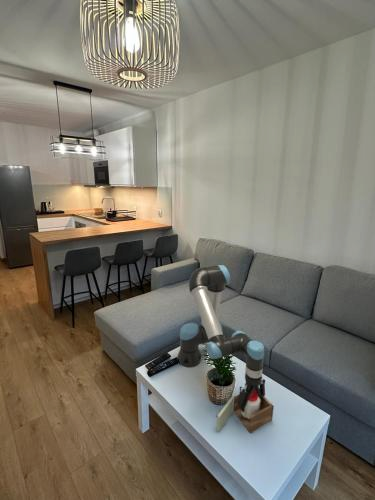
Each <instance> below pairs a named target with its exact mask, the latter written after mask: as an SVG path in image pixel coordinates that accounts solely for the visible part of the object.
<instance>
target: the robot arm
mask: <svg viewBox="0 0 375 500" xmlns="http://www.w3.org/2000/svg"><path fill="white" fill-rule="evenodd" d="M230 283H231V275H230V272H229V270H228V268H227V267H226V266H225V265H224V264H222V265H221V264H220V265H219V264H217V265H213V266H205V267H198V268H197V269H195V270H193V271H192V273H191V275H190V277H189V280H188V289H189V293H190V295H191V296H192V297H193V298H194V303H195V305H196V307H197V310H198V313H199V316H200V319H201V322H200V324H197V323H195V322H189V323H186V324H183V325H182V326H181V328H180V330H179V331H180V332H179V338H180V339H179V344H180V345H179V348H180V349H179V351H178V354H177V360H178V359H179V362H180V363H179V362H178V363H179V365H180V366H183V367H186V368H193V367H197V366H198V365H200V363H201V362H202V354H201V351H200V348H199V346H200V345H203V344H205V345H206V353H207V355H208V357H209V358H210V359H211V360H214V359H219V358H220V359H221V358H223V357H227V356H232V355H234V354H239V353H241V354H242V355H243V356H244V357H245V369H244V370H245V373H244V374H245V375H244V379H245V381H244V382H245V384H244V386H240V387H239V394H238V395H239V398H238V403H237V404H238V405H239V406H240V407H241V414H242V415H243V416H244V417H245V418H246V412H247V406H246V404H247V401H248V399H249V397H250V395H251V394H252V392H253V391H254V390H255V391H256V392H257V394H258V396H259V398H260V403H261V400H263V397H262V396H264V397H266V388H265V387H266V386H265V384H266V380H265V378H264V377H263V368H264V358H265V346H264V344H263V343H262V342H260V341H257V340H252V339H251V338H250V337H249V335H247V334H246V333H245V332H244V331H242V330H236V331H235V332H234V333H232V334H231V337H226V338H225V336H224V334H223V327H222V324H221V323H220V321H219V314H220V308H221V300H222V299H221V298H222V293H223V292H224V291H225V289H226V286H227V285H229V284H230ZM259 410H260V406H259Z"/></svg>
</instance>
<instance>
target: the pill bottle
mask: <svg viewBox="0 0 375 500" xmlns="http://www.w3.org/2000/svg"><path fill="white" fill-rule="evenodd" d="M246 406H247V412H246V417H247V418H248V419H250V416H251V415H253V414H255V413H257V412H259V406H260V398H259V396H258V394H257V392H256V391H253V392H252V394H251V395H250V397H249V399H248V401H247V404H246Z"/></svg>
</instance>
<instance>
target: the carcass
mask: <svg viewBox="0 0 375 500" xmlns="http://www.w3.org/2000/svg"><path fill="white" fill-rule="evenodd" d="M254 391H255V390H254ZM262 397H263V400H261V403H260V410H259V412H257V413H255V414H253V415H251V416H250V419H248V418H247V417H246V418H245V417H244V416H243V415H242V414H241V407H240V406H239V405H238V404H237V403H238V398H239V394H237V395H235V396H233V411H232V413H234V415H235V416H236V417H237V418H238V419H239V421H240V422H241V423H242V424H243V425H244V427H245V428H246V430H247V431H248V432H249V434H251V433H253V432H255V431H256V430H259V429H260V428H262V427H264V426H265V425H268V423H271V422H272V421H273V415H274V406H275V405H273V403H271V401H269V400H268V399H267V398H266V396H262Z"/></svg>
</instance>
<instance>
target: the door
mask: <svg viewBox="0 0 375 500" xmlns="http://www.w3.org/2000/svg"><path fill="white" fill-rule="evenodd" d="M233 403H234V397H232V396H231V397H230V398H228V400H227V402H226V403H225V405H224V406H223V407H222V409H221V410H220V411H219V412H218V413H216V415H215V417H216V419H217V420H216V431H217V432H220V431H221V430H222V429H223V427H224V425H225V424H226V422H227V420H229V418H230V417H231V415H232V414H233Z"/></svg>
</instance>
